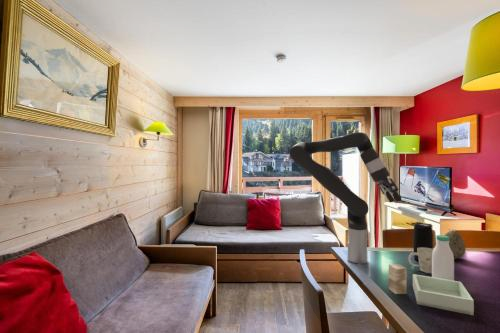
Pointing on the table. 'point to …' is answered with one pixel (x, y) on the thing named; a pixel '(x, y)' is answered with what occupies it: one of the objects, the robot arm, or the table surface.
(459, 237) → the decorative egg
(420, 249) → the mug
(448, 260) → the milk bottle
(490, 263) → the table surface
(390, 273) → the birch block
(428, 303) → the bin
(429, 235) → the portable speaker
